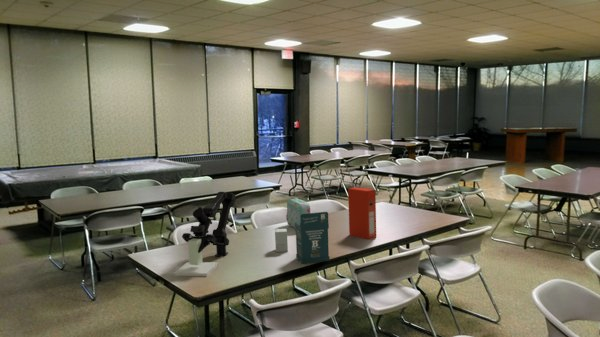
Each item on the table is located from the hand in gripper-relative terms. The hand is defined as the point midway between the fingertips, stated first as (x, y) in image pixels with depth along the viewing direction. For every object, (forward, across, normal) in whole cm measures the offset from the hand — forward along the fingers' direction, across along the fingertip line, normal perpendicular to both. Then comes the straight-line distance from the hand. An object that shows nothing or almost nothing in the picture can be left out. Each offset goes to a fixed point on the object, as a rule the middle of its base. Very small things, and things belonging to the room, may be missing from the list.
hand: (194, 252), depth 241 cm
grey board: (+6, 0, +8) cm, 11 cm away
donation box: (-17, +55, +32) cm, 66 cm away
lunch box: (-65, +25, +81) cm, 107 cm away
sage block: (+4, 0, +6) cm, 7 cm away
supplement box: (-24, +33, +40) cm, 57 cm away
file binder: (-54, +75, +70) cm, 116 cm away
